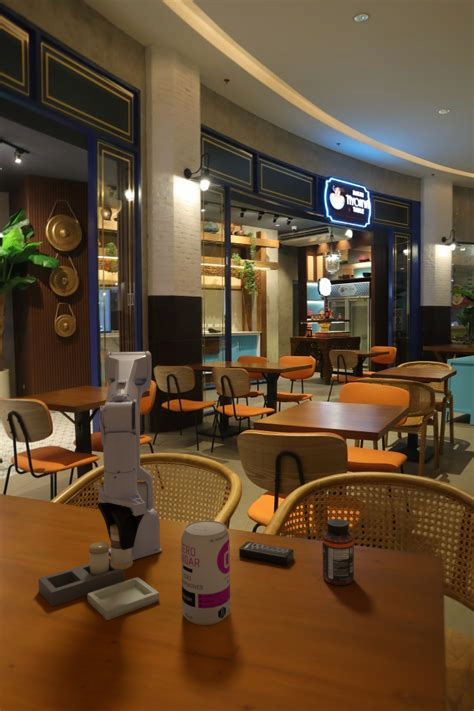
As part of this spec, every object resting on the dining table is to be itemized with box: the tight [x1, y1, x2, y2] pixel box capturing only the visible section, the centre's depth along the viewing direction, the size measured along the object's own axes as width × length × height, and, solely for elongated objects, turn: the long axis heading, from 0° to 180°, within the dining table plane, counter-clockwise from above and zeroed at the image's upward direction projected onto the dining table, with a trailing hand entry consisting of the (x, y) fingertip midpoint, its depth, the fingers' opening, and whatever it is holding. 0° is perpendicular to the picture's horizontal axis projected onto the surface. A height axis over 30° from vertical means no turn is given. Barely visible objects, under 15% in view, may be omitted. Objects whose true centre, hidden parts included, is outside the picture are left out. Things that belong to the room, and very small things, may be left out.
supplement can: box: [180, 519, 231, 626], centre depth 91 cm, size 8×8×15 cm
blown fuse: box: [110, 523, 133, 570], centre depth 95 cm, size 4×4×7 cm
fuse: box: [88, 541, 110, 576], centre depth 103 cm, size 4×4×7 cm
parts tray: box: [87, 576, 160, 621], centre depth 96 cm, size 10×8×2 cm
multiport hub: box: [238, 541, 295, 567], centre depth 114 cm, size 4×11×2 cm, turn 64°
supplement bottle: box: [321, 518, 355, 586], centre depth 103 cm, size 6×6×11 cm
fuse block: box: [38, 558, 125, 607], centre depth 101 cm, size 14×7×2 cm, turn 129°
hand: (121, 544), depth 95 cm, fingers closed on blown fuse, 4 cm apart
